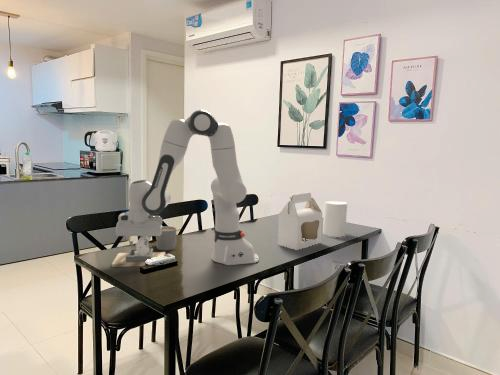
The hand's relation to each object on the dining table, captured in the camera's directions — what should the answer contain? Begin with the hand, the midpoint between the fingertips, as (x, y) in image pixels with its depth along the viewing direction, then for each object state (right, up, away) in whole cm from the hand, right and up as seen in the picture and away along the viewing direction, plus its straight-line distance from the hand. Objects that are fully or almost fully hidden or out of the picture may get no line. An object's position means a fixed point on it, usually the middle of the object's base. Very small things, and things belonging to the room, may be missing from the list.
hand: (139, 245), depth 173 cm
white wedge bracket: (+2, -6, +1) cm, 6 cm away
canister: (+102, -3, +58) cm, 118 cm away
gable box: (+78, -5, +35) cm, 86 cm away
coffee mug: (+7, -5, +23) cm, 25 cm away
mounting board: (0, -7, +1) cm, 7 cm away
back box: (0, -6, +1) cm, 6 cm away
